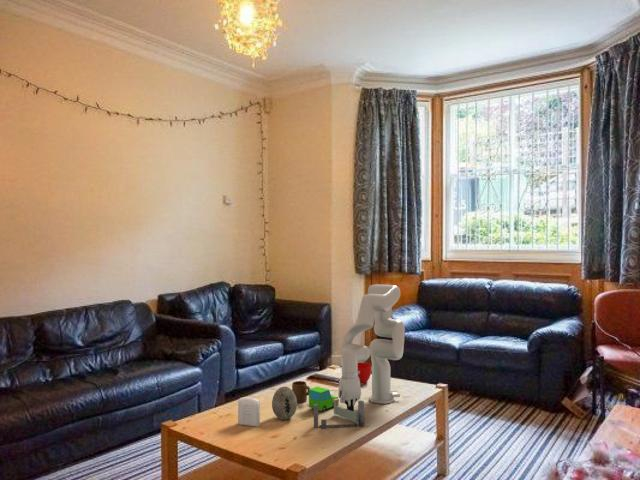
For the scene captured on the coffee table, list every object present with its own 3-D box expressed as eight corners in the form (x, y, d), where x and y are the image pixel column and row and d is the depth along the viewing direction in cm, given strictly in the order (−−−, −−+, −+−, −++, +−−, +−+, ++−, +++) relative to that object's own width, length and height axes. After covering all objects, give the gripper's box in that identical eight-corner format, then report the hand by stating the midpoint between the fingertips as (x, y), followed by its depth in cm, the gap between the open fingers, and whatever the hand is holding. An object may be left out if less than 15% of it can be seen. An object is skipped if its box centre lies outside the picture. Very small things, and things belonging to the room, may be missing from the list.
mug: (315, 403, 255) (315, 384, 255) (304, 406, 250) (304, 388, 250) (300, 397, 264) (299, 380, 264) (289, 401, 259) (289, 383, 258)
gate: (359, 422, 226) (359, 406, 226) (356, 423, 225) (355, 407, 225) (336, 412, 238) (336, 398, 238) (333, 413, 237) (333, 399, 237)
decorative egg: (276, 425, 226) (275, 392, 226) (269, 416, 237) (268, 385, 237) (300, 421, 230) (300, 388, 230) (292, 412, 241) (292, 382, 241)
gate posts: (364, 424, 225) (363, 400, 225) (365, 428, 221) (365, 403, 221) (313, 425, 224) (313, 401, 224) (313, 429, 220) (313, 404, 220)
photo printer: (261, 423, 228) (260, 396, 228) (257, 427, 224) (257, 399, 224) (241, 421, 231) (240, 395, 231) (236, 425, 227) (236, 398, 227)
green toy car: (340, 406, 249) (340, 386, 249) (322, 413, 240) (322, 393, 240) (325, 402, 256) (325, 382, 256) (307, 408, 247) (307, 388, 247)
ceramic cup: (347, 387, 280) (347, 369, 280) (350, 378, 297) (350, 362, 297) (370, 388, 278) (370, 370, 278) (372, 379, 295) (372, 362, 295)
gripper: (358, 370, 240) (359, 408, 240) (331, 375, 233) (332, 414, 233) (367, 374, 233) (368, 413, 233) (340, 379, 226) (340, 419, 226)
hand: (350, 413), depth 233 cm, fingers closed
